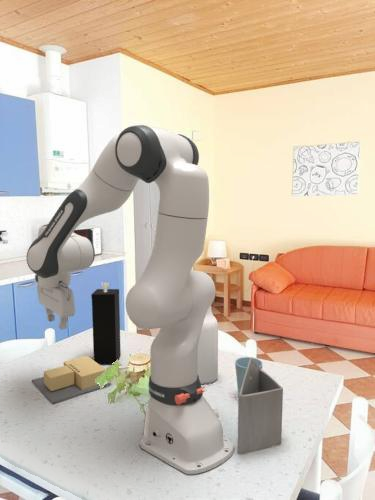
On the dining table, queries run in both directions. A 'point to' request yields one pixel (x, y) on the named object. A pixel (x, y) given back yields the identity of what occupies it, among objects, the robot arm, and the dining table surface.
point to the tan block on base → (75, 380)
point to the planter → (259, 410)
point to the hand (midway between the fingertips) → (56, 324)
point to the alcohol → (208, 350)
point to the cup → (243, 369)
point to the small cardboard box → (58, 377)
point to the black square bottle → (106, 324)
